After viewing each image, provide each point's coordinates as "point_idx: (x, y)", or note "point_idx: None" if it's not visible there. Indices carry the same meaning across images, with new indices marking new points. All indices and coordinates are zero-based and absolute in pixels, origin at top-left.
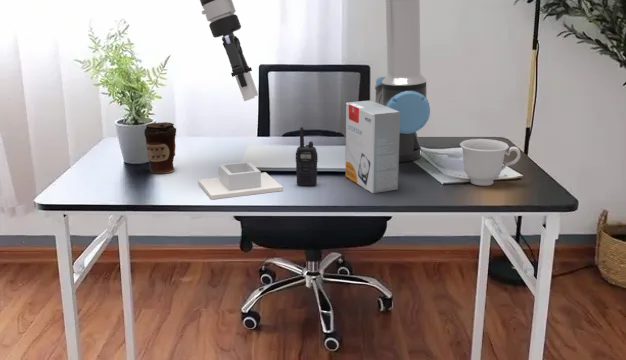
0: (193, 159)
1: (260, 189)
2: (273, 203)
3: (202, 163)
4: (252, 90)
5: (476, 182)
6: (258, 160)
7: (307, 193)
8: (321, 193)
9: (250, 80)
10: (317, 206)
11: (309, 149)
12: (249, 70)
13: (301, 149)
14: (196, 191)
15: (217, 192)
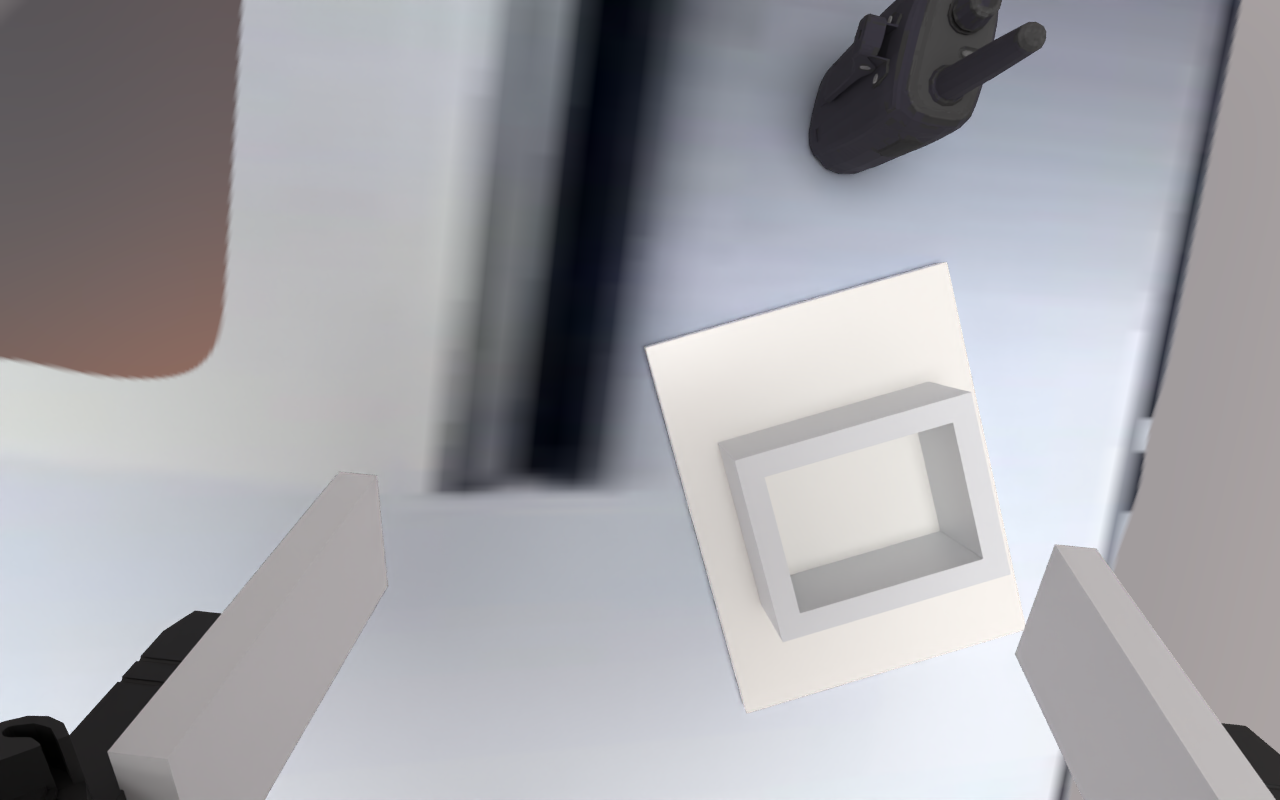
0: None
1: (970, 385)
2: (1126, 323)
3: (330, 713)
4: (348, 570)
5: None
6: (282, 380)
7: (1001, 132)
8: None
9: (269, 660)
10: (1214, 103)
11: (994, 33)
12: (73, 774)
13: (978, 96)
14: (872, 700)
15: (983, 602)
